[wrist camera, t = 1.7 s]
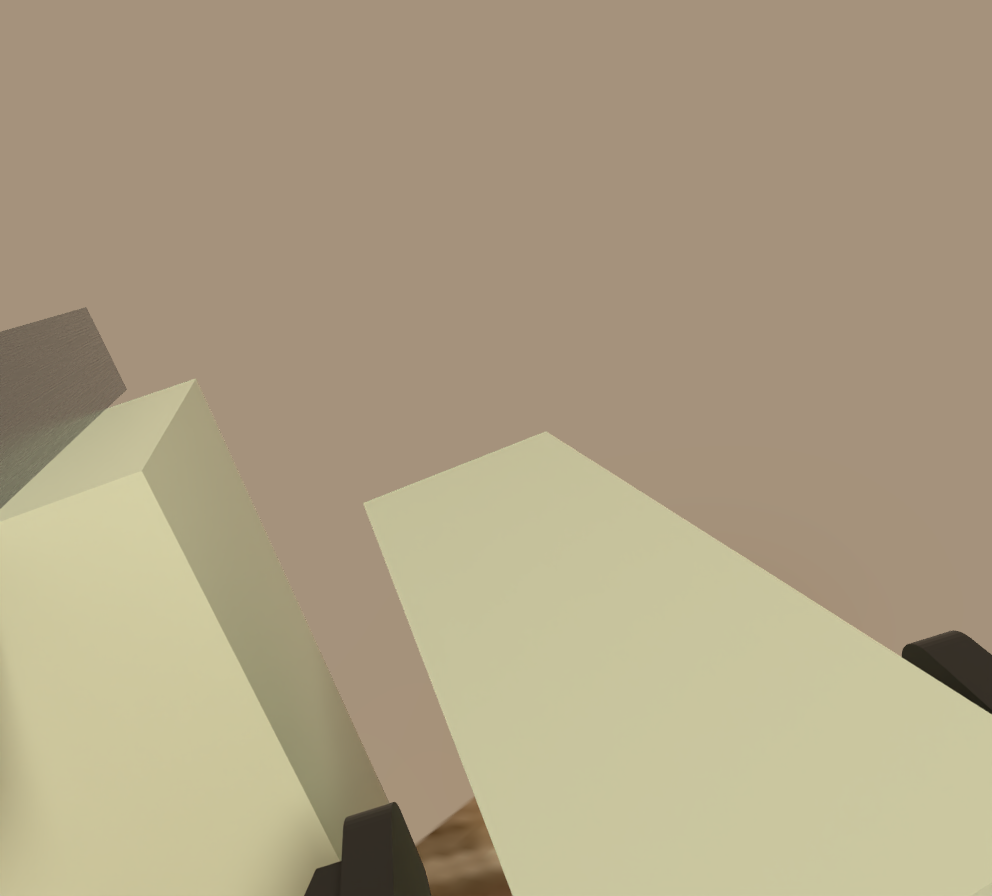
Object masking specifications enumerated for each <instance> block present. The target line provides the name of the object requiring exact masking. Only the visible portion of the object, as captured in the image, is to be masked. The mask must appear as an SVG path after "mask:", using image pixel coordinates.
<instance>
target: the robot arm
mask: <svg viewBox="0 0 992 896" xmlns="http://www.w3.org/2000/svg"><path fill="white" fill-rule="evenodd" d="M902 658H904V659H905V660H907V661H908V662H910V663H911V664H913V665H915V666H916V667H918V668H919V669H921V670H922V671H924V672H926V673H927V674H929V675H930V676H932V677H933V678H935V679H937V680H938V681H940V682H941V683H943V684H944V685H946V686H948V687H949V688H951V689H952V690H954V691H955V692H957V693H959V694H960V695H962V696H963V697H965V698H967V699H968V700H970V701H971V702H973V703H974V704H976V705H978V706H979V707H981V708H982V709H984V710H985V711H987V712H989V713H990V714H992V655H991V654H990V653H988V652H987V651H986V650H985V649H983V648H982V647H981V646H980V645H978V644H977V643H976V642H975V641H974V640H972V639H971V638H970V637H968V636H967V635H965V634H963V633H961V632H958V631H949V632H946V633H943V634H939V635H937V636H933V637H930V638H927V639H923V640H920V641H917V642H914V643H911V644H908V645H906V646H905V647H904V648H903V651H902ZM304 896H431V893H430V888H429V884H428V879H427V876H426V872H425V869H424V866H423V863H422V861H421V859H420V856H419V854H418V851H417V849H416V847H415V844H414V842H413V839H412V837H411V835H410V832H409V830H408V828H407V825H406V823H405V820H404V818H403V815H402V813H401V811H400V809H399V806H398V805H397V804H396V803H395V802H393V803H389V804H386V805H383V806H380V807H376V808H373V809H370V810H367V811H364V812H360V813H357V814H354V815H351V816H348V817H346V818H345V821H344V825H343V837H342V861H340V862H336V863H333V864H330V865H327V866H324V867H320V868H317V869H316V870H315V872H314V874H313V877H312V879H311V881H310V884H309V886H308V888H307V890H306V893H305V895H304Z"/></svg>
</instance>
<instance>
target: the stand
mask: <svg viewBox="0 0 992 896" xmlns="http://www.w3.org/2000/svg"><path fill="white" fill-rule="evenodd" d="M386 804H389V801H388V799H387V797H386V795H385V793H384V790H383V788H382V786H381V784H380V782H379V780H378V777H377V775H376V773H375V771H374V768H373V766H372V764H371V762H370V760H369V758H368V755H367V753H366V751H365V749H364V747H363V744H362V743H361V740H360V738H359V736H358V734H357V731H356V729H355V727H354V725H353V722H352V720H351V718H350V716H349V714H348V711H347V709H346V707H345V705H344V703H343V700H342V698H341V696H340V694H339V692H338V690H337V687H336V685H335V683H334V681H333V678H332V676H331V674H330V672H329V670H328V667H327V665H326V663H325V661H324V659H323V656H322V654H321V652H320V650H319V648H318V645H317V644H316V641H315V639H314V637H313V634H312V632H311V630H310V628H309V626H308V623H307V621H306V619H305V617H304V615H303V613H302V610H301V608H300V606H299V604H298V601H297V599H296V597H295V595H294V593H293V590H292V588H291V586H290V584H289V582H288V579H287V577H286V575H285V573H284V571H283V569H282V566H281V564H280V562H279V560H278V557H277V555H276V553H275V551H274V549H273V547H272V544H271V542H270V540H269V538H268V535H267V533H266V531H265V529H264V527H263V525H262V522H261V520H260V518H259V516H258V514H257V511H256V509H255V507H254V505H253V503H252V500H251V498H250V496H249V494H248V492H247V489H246V487H245V485H244V483H243V481H242V478H241V476H240V474H239V472H238V470H237V468H236V465H235V463H234V461H233V459H232V456H231V454H230V452H229V450H228V448H227V446H226V443H225V441H224V439H223V437H222V435H221V432H220V430H219V428H218V426H217V423H216V421H215V419H214V417H213V415H212V412H211V410H210V408H209V406H208V404H207V401H206V399H205V397H204V395H203V393H202V390H201V388H200V386H199V384H198V382H197V379H193V380H190V381H187V382H184V383H181V384H178V385H175V386H173V387H169V388H166V389H164V390H161V391H158V392H155V393H152V394H149V395H146V396H143V397H140V398H137V399H134V400H131V401H128V402H125V403H122V404H119V405H116V406H114V407H110V408H107V409H105V410H104V411H103V412H102V413H101V414H100V415H99V416H98V417H97V418H96V419H95V420H94V421H93V422H92V423H91V424H90V425H89V426H87V427H86V428H85V429H84V430H83V431H82V432H81V433H80V434H79V435H78V436H77V437H76V438H75V439H74V440H73V441H72V442H71V443H70V444H68V445H67V446H66V447H65V448H64V449H63V450H62V451H61V452H60V453H59V454H58V455H57V456H56V457H55V458H54V459H53V460H52V461H50V462H49V463H48V464H47V465H46V466H45V467H44V468H43V469H42V470H41V471H40V472H39V473H38V474H37V475H36V476H35V477H34V478H33V479H31V480H30V481H29V482H28V483H27V484H26V485H25V486H24V487H23V488H22V489H21V490H20V491H19V492H18V493H17V494H16V495H15V496H13V497H12V498H11V499H10V500H9V501H8V502H7V503H6V504H5V505H4V506H3V507H2V508H1V509H0V896H304V895H305V893H306V890H307V888H308V886H309V884H310V881H311V879H312V877H313V874H314V872H315V870H316V869H317V868H320V867H324V866H327V865H330V864H333V863H336V862H340V861H342V837H343V825H344V821H345V818H346V817H348V816H351V815H354V814H357V813H360V812H364V811H367V810H370V809H373V808H376V807H380V806H383V805H386Z"/></svg>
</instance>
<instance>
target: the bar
mask: <svg viewBox="0 0 992 896" xmlns="http://www.w3.org/2000/svg"><path fill="white" fill-rule="evenodd" d="M125 390H126V387H125V385H124V383H123V381H122V379H121V377H120V375H119V373H118V371H117V369H116V367H115V365H114V363H113V361H112V358H111V356H110V354H109V352H108V350H107V348H106V346H105V344H104V342H103V341H102V338H101V336H100V334H99V332H98V330H97V328H96V326H95V324H94V322H93V320H92V318H91V316H90V314H89V312H88V310H87V308H82V309H79V310H75V311H72V312H69V313H65V314H62V315H58V316H54V317H51V318H47V319H44V320H40V321H37V322H33V323H30V324H26V325H23V326H20V327H16V328H12V329H9V330H5V331H2V332H0V509H1V508H2V507H3V506H4V505H5V504H6V503H7V502H8V501H9V500H10V499H11V498H12V497H13V496H15V495H16V494H17V493H18V492H19V491H20V490H21V489H22V488H23V487H24V486H25V485H26V484H27V483H28V482H29V481H30V480H31V479H33V478H34V477H35V476H36V475H37V474H38V473H39V472H40V471H41V470H42V469H43V468H44V467H45V466H46V465H47V464H48V463H49V462H50V461H52V460H53V459H54V458H55V457H56V456H57V455H58V454H59V453H60V452H61V451H62V450H63V449H64V448H65V447H66V446H67V445H68V444H70V443H71V442H72V441H73V440H74V439H75V438H76V437H77V436H78V435H79V434H80V433H81V432H82V431H83V430H84V429H85V428H86V427H87V426H89V425H90V424H91V423H92V422H93V421H94V420H95V419H96V418H97V417H98V416H99V415H100V414H101V413H102V412H103V411H104V410H105V409H107V408H108V407H109V406H110V405H111V404H112V403H113V402H114V401H115V400H116V399H117V398H118V397H119V396H120V395H121V394H122V393H123V392H124V391H125Z"/></svg>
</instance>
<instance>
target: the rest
mask: <svg viewBox="0 0 992 896" xmlns="http://www.w3.org/2000/svg"><path fill="white" fill-rule="evenodd" d="M363 504H364V507H365V509H366V512H367V515H368V517H369V520H370V522H371V525H372V528H373V530H374V533H375V536H376V538H377V541H378V544H379V546H380V548H381V552H382V554H383V557H384V559H385V562H386V565H387V567H388V570H389V572H390V575H391V578H392V580H393V583H394V586H395V588H396V591H397V594H398V596H399V599H400V601H401V604H402V606H403V609H404V612H405V615H406V617H407V620H408V622H409V625H410V628H411V630H412V633H413V636H414V638H415V641H416V643H417V646H418V649H419V651H420V654H421V657H422V659H423V662H424V664H425V667H426V669H427V672H428V675H429V677H430V680H431V683H432V685H433V688H434V691H435V693H436V696H437V699H438V701H439V703H440V706H441V709H442V712H443V714H444V717H445V720H446V722H447V725H448V727H449V730H450V733H451V735H452V738H453V740H454V743H455V746H456V748H457V751H458V754H459V756H460V759H461V762H462V764H463V767H464V769H465V772H466V775H467V777H468V780H469V783H470V785H471V788H472V790H473V793H474V796H475V798H476V801H477V804H478V806H479V809H480V811H481V814H482V817H483V819H484V822H485V825H486V827H487V830H488V832H489V835H490V838H491V840H492V843H493V846H494V848H495V851H496V853H497V856H498V859H499V861H500V864H501V867H502V869H503V872H504V874H505V877H506V880H507V882H508V885H509V888H510V890H511V893H512V895H513V896H992V714H990V713H989V712H987V711H985V710H984V709H982V708H981V707H979V706H978V705H976V704H974V703H973V702H971V701H970V700H968V699H967V698H965V697H963V696H962V695H960V694H959V693H957V692H955V691H954V690H952V689H951V688H949V687H948V686H946V685H944V684H943V683H941V682H940V681H938V680H937V679H935V678H933V677H932V676H930V675H929V674H927V673H926V672H924V671H922V670H921V669H919V668H918V667H916V666H915V665H913V664H911V663H910V662H908V661H907V660H905V659H904V658H902V657H900V656H899V655H897V654H896V653H894V652H893V651H891V650H889V649H888V648H886V647H885V646H883V645H881V644H880V643H878V642H877V641H875V640H874V639H872V638H870V637H869V636H867V635H866V634H864V633H863V632H861V631H859V630H858V629H856V628H855V627H853V626H852V625H850V624H848V623H847V622H845V621H844V620H842V619H840V618H839V617H837V616H836V615H834V614H833V613H831V612H829V611H828V610H826V609H825V608H823V607H821V606H820V605H819V604H817V603H815V602H814V601H812V600H811V599H809V598H808V597H806V596H804V595H803V594H801V593H800V592H798V591H796V590H795V589H793V588H792V587H790V586H789V585H787V584H785V583H784V582H782V581H781V580H779V579H778V578H776V577H774V576H773V575H771V574H770V573H768V572H767V571H765V570H763V569H762V568H760V567H759V566H757V565H755V564H754V563H752V562H751V561H749V560H748V559H746V558H745V557H743V556H741V555H740V554H738V553H737V552H735V551H733V550H732V549H730V548H729V547H727V546H725V545H724V544H723V543H721V542H719V541H718V540H716V539H715V538H713V537H711V536H710V535H708V534H707V533H705V532H704V531H702V530H700V529H699V528H697V527H696V526H694V525H692V524H691V523H689V522H688V521H686V520H685V519H683V518H681V517H680V516H678V515H677V514H675V513H674V512H672V511H671V510H669V509H667V508H665V507H664V506H663V505H661V504H660V503H658V502H656V501H655V500H653V499H651V498H650V497H648V496H647V495H645V494H644V493H642V492H641V491H639V490H637V489H636V488H634V487H633V486H631V485H630V484H628V483H626V482H625V481H623V480H622V479H620V478H619V477H617V476H615V475H614V474H612V473H611V472H609V471H608V470H606V469H604V468H603V467H601V466H600V465H598V464H596V463H595V462H593V461H592V460H590V459H589V458H587V457H586V456H584V455H582V454H580V453H579V452H578V451H576V450H575V449H573V448H571V447H570V446H568V445H567V444H565V443H564V442H561V441H560V440H558V439H557V438H556V437H554V436H552V435H551V434H549V433H548V432H543V433H541V434H538V435H536V436H533V437H531V438H528V439H525V440H523V441H520V442H518V443H515V444H513V445H510V446H508V447H505V448H503V449H500V450H498V451H495V452H492V453H490V454H487V455H485V456H482V457H480V458H477V459H475V460H472V461H469V462H467V463H464V464H462V465H459V466H457V467H454V468H452V469H449V470H447V471H444V472H441V473H439V474H436V475H434V476H431V477H429V478H426V479H424V480H421V481H419V482H416V483H414V484H411V485H408V486H406V487H403V488H401V489H398V490H396V491H393V492H391V493H388V494H386V495H383V496H380V497H378V498H375V499H373V500H370V501H368V502H365V503H363Z"/></svg>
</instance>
